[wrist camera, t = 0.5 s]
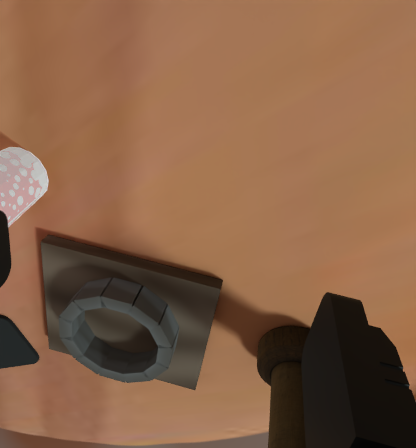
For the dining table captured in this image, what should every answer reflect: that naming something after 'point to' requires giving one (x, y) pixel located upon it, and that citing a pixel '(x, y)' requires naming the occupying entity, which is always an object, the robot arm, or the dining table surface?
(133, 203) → the dining table surface
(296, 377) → the pepper mill
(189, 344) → the ring holder
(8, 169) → the beverage cup
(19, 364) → the phone
